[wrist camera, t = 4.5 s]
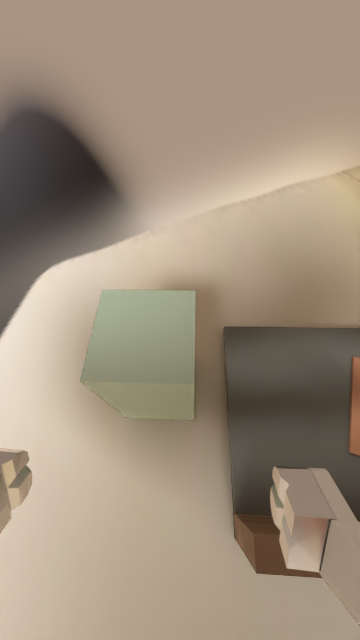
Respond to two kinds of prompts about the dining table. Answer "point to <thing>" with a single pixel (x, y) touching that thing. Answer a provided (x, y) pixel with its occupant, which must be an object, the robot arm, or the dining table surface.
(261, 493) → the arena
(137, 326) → the sage block
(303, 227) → the dining table surface
